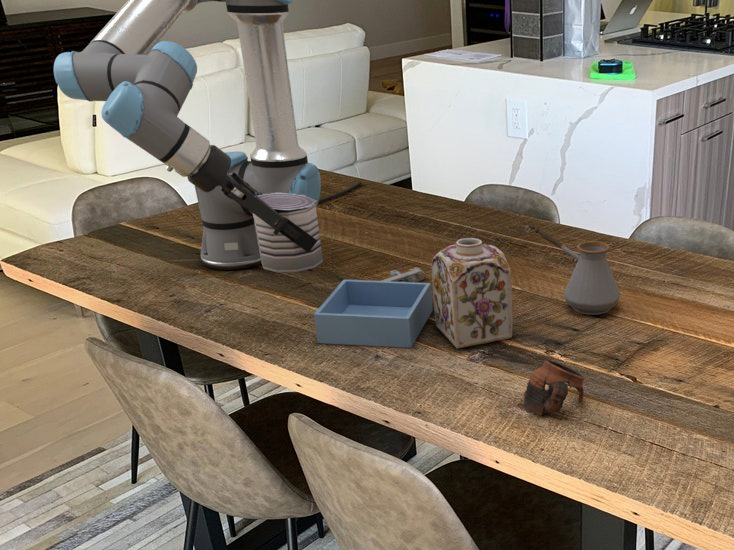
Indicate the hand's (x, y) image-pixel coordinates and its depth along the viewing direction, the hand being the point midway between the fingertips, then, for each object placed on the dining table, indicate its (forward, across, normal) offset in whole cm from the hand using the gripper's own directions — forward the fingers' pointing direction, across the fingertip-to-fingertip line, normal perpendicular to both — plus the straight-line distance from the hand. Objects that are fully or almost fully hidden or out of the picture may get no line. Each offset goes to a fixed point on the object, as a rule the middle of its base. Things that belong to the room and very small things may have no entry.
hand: (303, 237), depth 161 cm
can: (+1, 0, -5) cm, 5 cm away
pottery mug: (+29, +52, +5) cm, 60 cm away
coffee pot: (+46, +15, +22) cm, 54 cm away
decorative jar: (+29, +20, +6) cm, 36 cm away
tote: (+19, +8, -5) cm, 21 cm away
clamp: (+26, -9, +2) cm, 27 cm away
